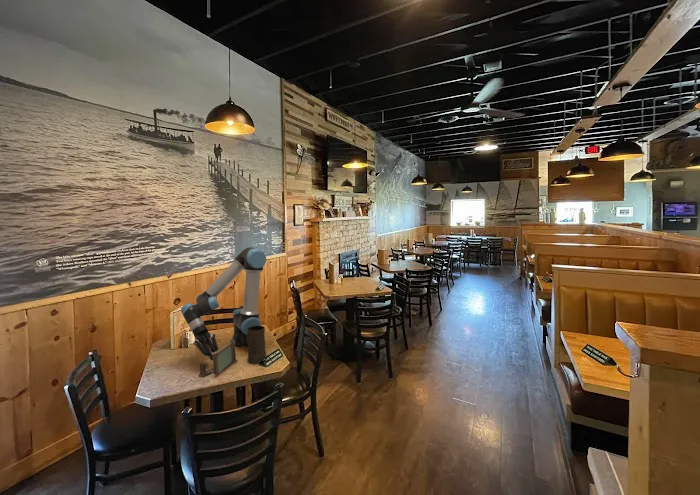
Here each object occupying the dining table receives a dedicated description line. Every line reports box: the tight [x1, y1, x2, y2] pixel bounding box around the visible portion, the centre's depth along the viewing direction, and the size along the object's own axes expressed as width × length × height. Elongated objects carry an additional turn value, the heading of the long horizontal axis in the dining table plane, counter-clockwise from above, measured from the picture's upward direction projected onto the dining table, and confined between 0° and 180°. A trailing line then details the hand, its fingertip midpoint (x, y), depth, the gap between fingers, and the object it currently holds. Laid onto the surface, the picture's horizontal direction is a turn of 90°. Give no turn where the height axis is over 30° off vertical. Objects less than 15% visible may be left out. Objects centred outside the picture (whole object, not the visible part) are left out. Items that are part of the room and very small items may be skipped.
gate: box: [212, 341, 234, 375], centre depth 187 cm, size 17×2×11 cm, turn 170°
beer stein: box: [247, 325, 267, 365], centre depth 201 cm, size 15×11×20 cm
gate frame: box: [198, 339, 239, 378], centre depth 189 cm, size 23×4×13 cm, turn 149°
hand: (217, 363), depth 186 cm, fingers closed
